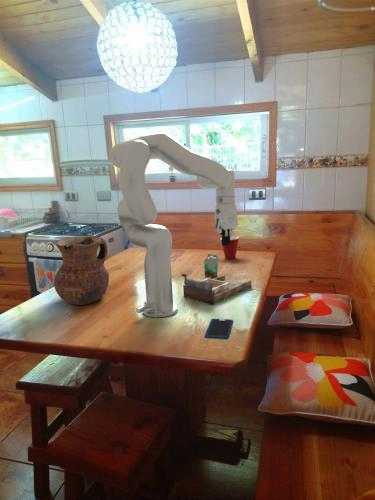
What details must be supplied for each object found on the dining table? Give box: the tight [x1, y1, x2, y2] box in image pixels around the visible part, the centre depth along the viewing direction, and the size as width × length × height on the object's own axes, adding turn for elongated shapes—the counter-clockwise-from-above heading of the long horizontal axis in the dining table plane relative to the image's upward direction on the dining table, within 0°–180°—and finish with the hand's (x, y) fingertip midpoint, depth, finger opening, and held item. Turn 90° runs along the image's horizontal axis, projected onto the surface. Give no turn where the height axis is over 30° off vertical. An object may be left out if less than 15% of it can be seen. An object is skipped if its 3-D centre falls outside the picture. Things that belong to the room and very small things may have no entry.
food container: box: [203, 253, 220, 279], centre depth 168 cm, size 12×6×10 cm, turn 168°
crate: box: [201, 278, 229, 295], centre depth 143 cm, size 11×11×4 cm
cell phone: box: [204, 318, 234, 340], centre depth 114 cm, size 7×14×1 cm, turn 167°
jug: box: [53, 235, 110, 306], centre depth 144 cm, size 22×21×25 cm
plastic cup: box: [219, 236, 240, 260], centre depth 203 cm, size 11×11×12 cm
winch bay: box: [181, 273, 252, 306], centre depth 147 cm, size 27×16×10 cm, turn 137°
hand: (226, 245), depth 148 cm, fingers closed
